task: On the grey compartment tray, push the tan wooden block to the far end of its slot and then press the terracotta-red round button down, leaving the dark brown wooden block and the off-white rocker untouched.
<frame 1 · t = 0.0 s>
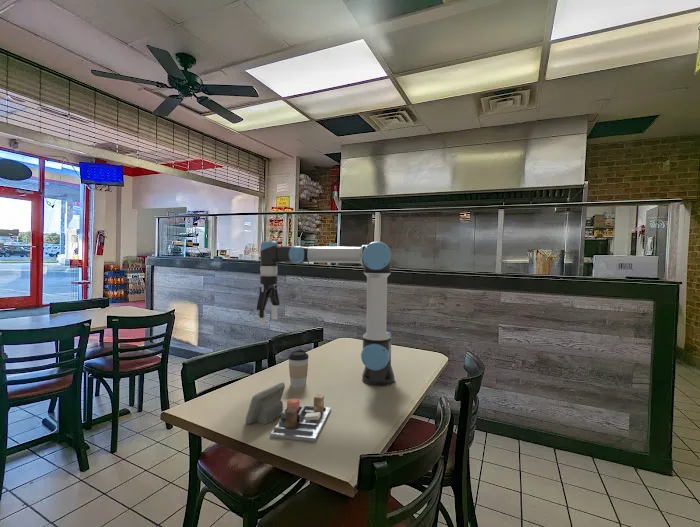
hand: (268, 322, 155), 28 cm above the table, fingers open, 13 cm apart
coffee cup: (298, 385, 154), on the table
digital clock: (266, 417, 124), on the table
tan wooden block: (318, 403, 125), point 4 cm above the table, slide at 0.0 cm
dark brown wooden block: (291, 419, 113), point 4 cm above the table, slide at 6.0 cm
button: (293, 405, 120), point 6 cm above the table, slide at 0.0 cm
rocker: (312, 416, 119), point 3 cm above the table, hinge at 10.0°
grey compartment tray: (302, 422, 119), on the table
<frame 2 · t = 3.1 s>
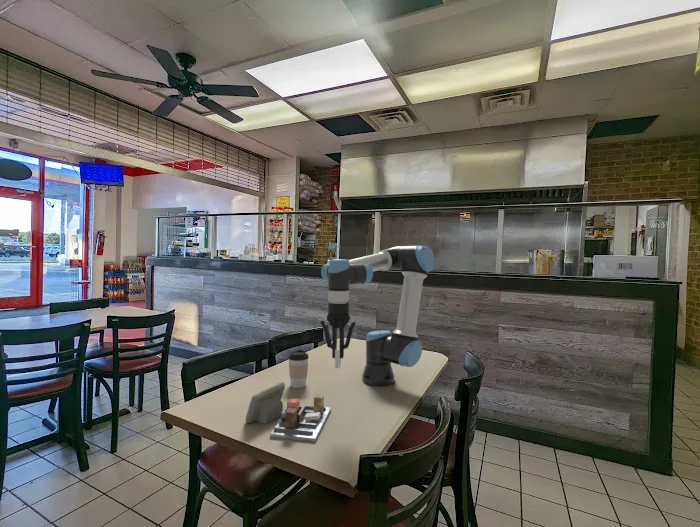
hand: (337, 366, 123), 18 cm above the table, fingers closed
nothing on the table moved.
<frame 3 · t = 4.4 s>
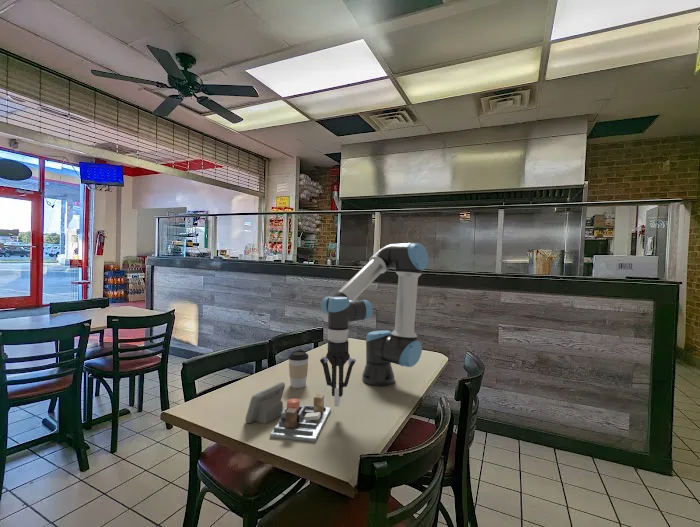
hand: (337, 404, 124), 5 cm above the table, fingers closed
nothing on the table moved.
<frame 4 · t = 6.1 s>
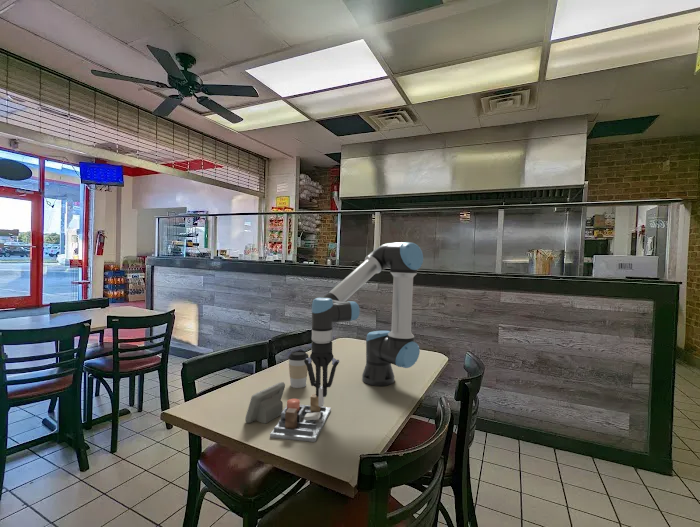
hand: (321, 404, 125), 4 cm above the table, fingers closed
tan wooden block: (315, 403, 125), point 4 cm above the table, slide at 1.3 cm, touching gripper
everything else where it was.
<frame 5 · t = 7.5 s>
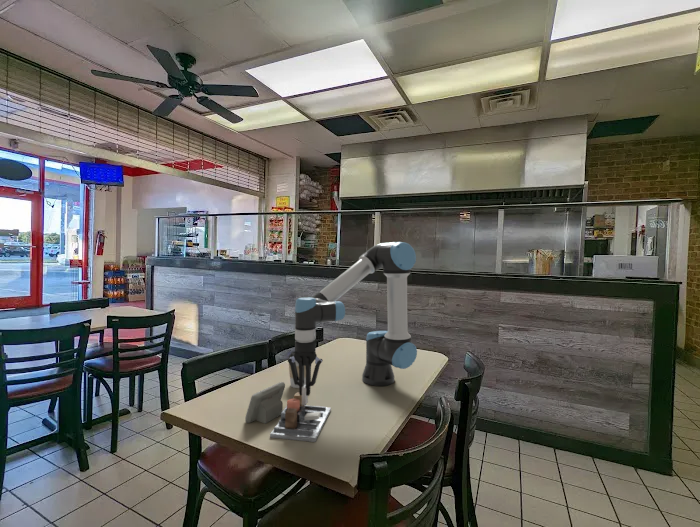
hand: (304, 403, 126), 4 cm above the table, fingers closed
tan wooden block: (299, 402, 126), point 4 cm above the table, slide at 7.6 cm, touching gripper
everything else where it was.
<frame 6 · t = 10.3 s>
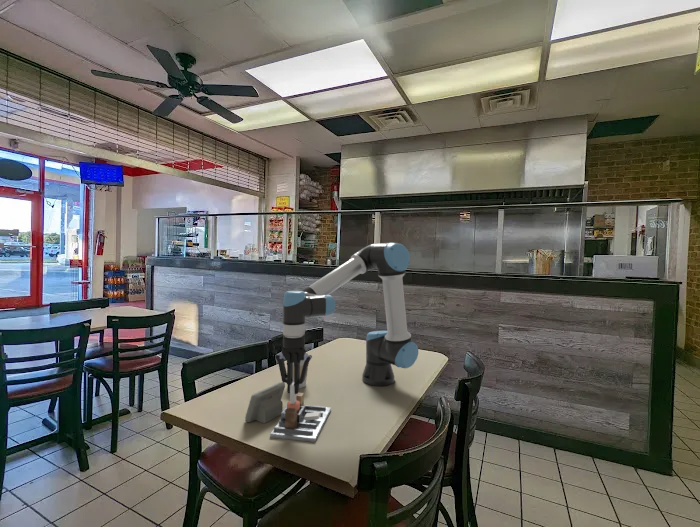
hand: (293, 402, 120), 7 cm above the table, fingers closed
tan wooden block: (298, 402, 126), point 4 cm above the table, slide at 7.7 cm
button: (293, 407, 120), point 5 cm above the table, slide at 0.6 cm, touching gripper
everything else where it was.
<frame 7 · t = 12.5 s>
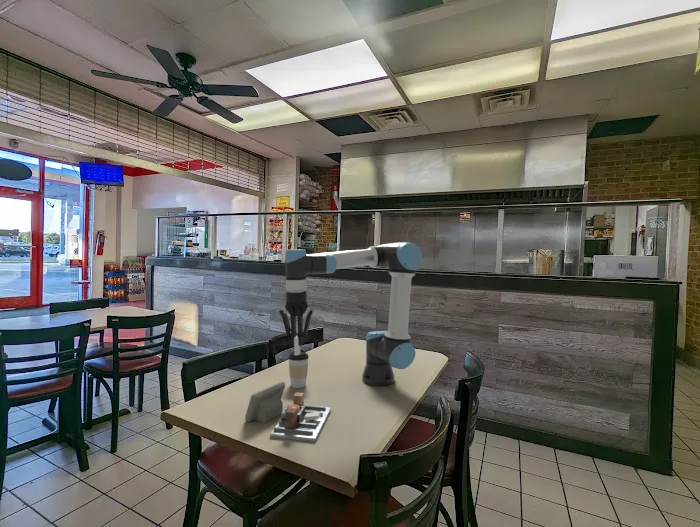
hand: (297, 354, 127), 22 cm above the table, fingers closed
button: (293, 411, 120), point 4 cm above the table, slide at 2.1 cm
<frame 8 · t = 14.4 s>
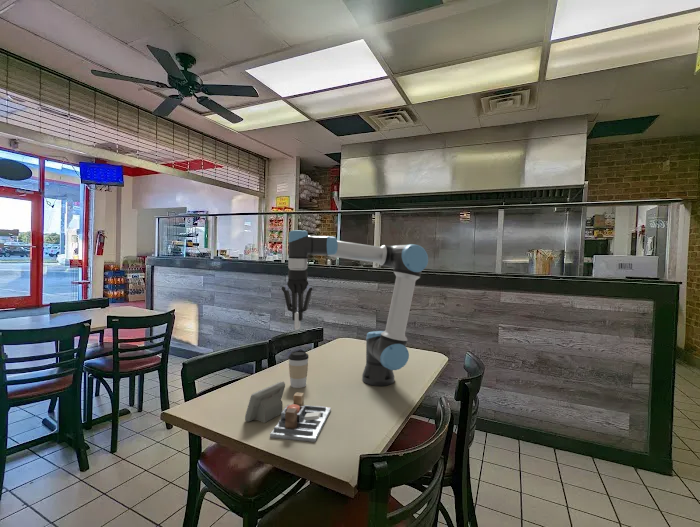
hand: (297, 328, 136), 29 cm above the table, fingers closed
at the end: tan wooden block slide at 7.7 cm; button slide at 2.1 cm; dark brown wooden block slide at 6.0 cm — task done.
